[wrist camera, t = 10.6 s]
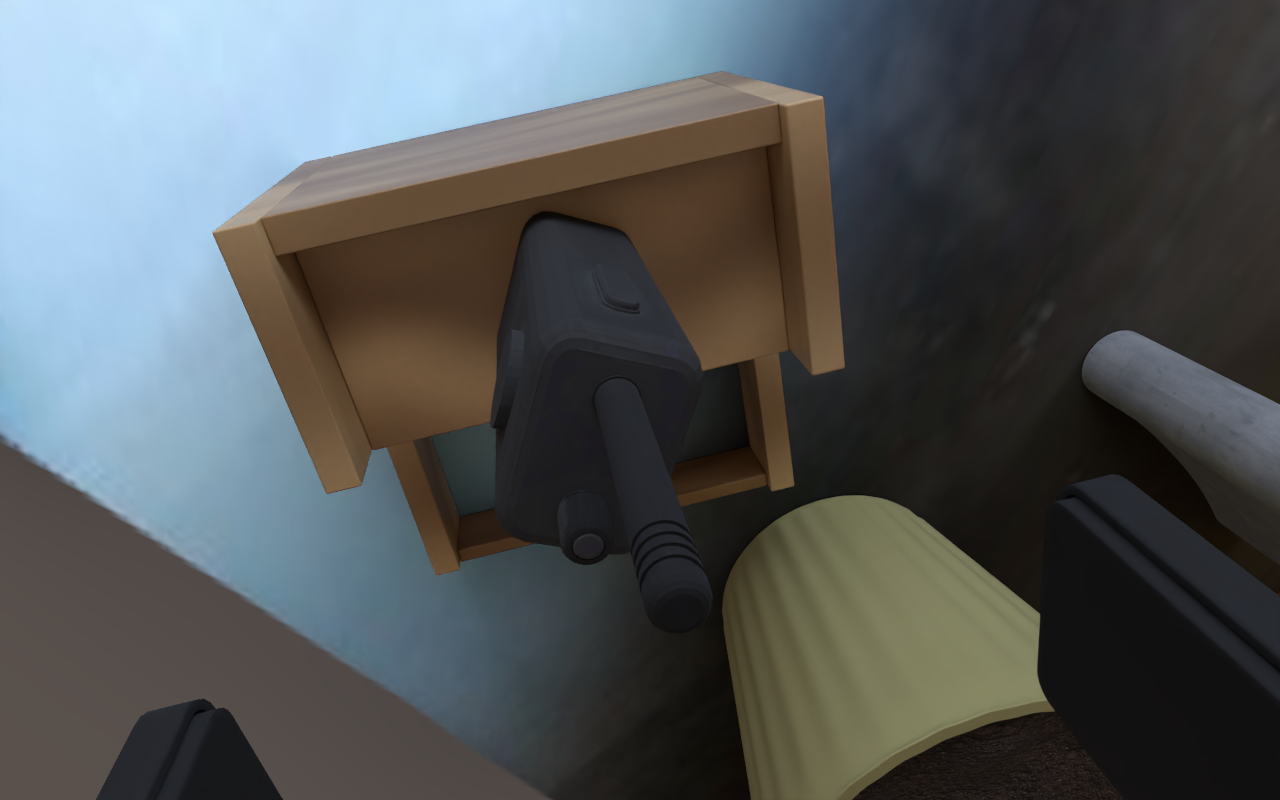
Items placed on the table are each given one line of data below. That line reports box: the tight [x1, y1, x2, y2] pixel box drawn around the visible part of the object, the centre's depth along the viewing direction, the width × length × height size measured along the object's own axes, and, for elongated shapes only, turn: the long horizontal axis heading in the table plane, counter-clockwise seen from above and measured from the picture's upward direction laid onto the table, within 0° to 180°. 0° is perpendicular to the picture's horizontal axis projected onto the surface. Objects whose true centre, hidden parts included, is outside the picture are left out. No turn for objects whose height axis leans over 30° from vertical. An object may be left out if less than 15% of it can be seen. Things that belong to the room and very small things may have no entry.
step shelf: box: [213, 71, 845, 575], centre depth 27 cm, size 16×15×10 cm
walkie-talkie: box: [490, 211, 713, 633], centre depth 16 cm, size 5×3×15 cm
